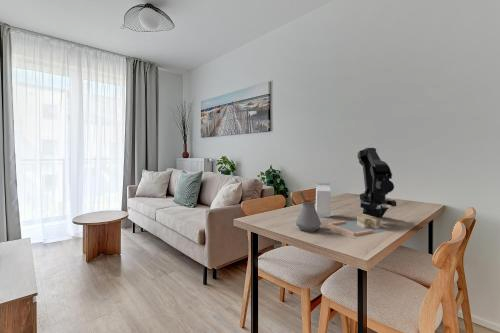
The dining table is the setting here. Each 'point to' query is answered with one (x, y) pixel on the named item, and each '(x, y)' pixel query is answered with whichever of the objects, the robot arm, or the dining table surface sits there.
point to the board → (354, 228)
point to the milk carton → (323, 199)
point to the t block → (369, 221)
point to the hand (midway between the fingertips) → (378, 221)
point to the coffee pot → (308, 216)
